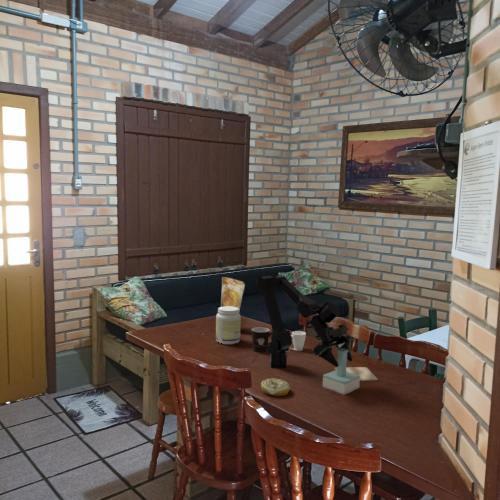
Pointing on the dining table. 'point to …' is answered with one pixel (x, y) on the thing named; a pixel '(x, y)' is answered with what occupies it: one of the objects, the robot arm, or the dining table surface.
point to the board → (361, 373)
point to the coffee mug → (260, 339)
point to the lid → (341, 370)
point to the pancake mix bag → (232, 292)
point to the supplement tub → (228, 325)
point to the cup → (298, 340)
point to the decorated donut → (275, 387)
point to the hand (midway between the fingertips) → (344, 363)
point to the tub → (341, 386)
